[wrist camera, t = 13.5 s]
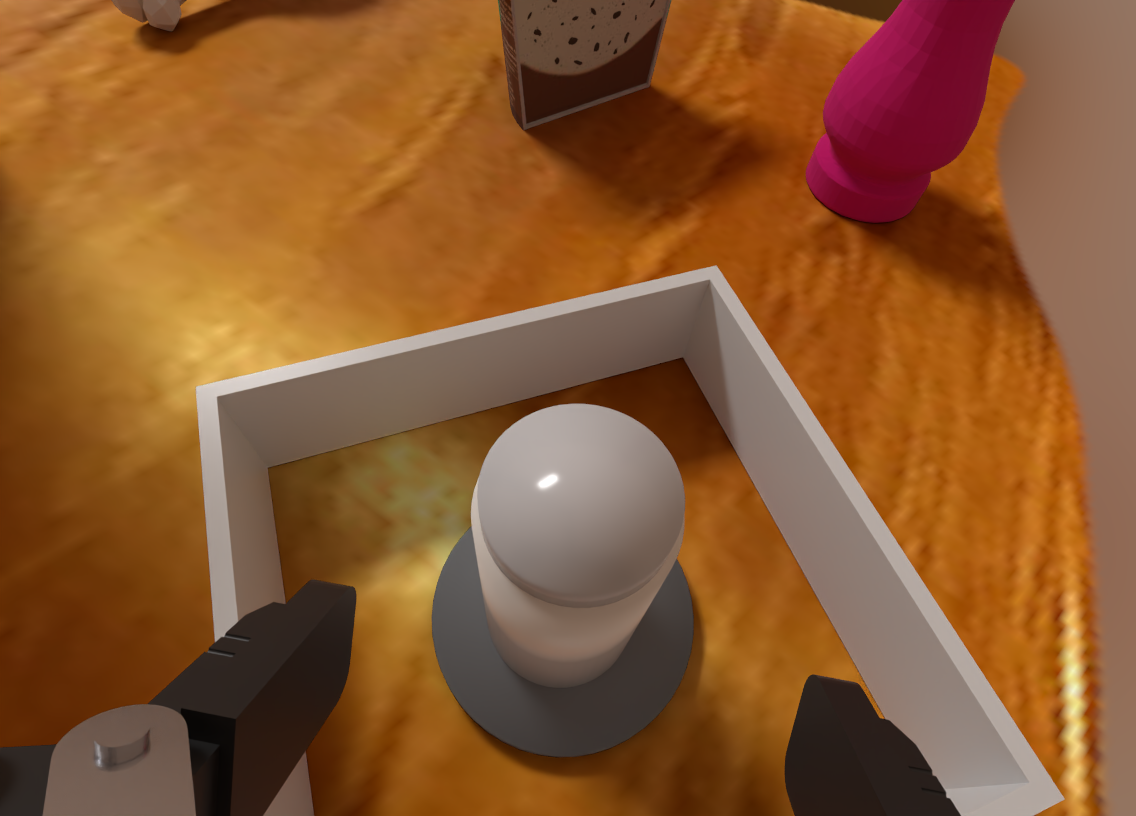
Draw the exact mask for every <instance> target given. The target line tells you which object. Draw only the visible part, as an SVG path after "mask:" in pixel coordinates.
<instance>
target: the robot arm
mask: <svg viewBox="0 0 1136 816" xmlns="http://www.w3.org/2000/svg"><path fill="white" fill-rule="evenodd" d="M355 607H356V591H355V588H354V587H351V586H346V585H340V584H335V583H330V582H324V581H319V580H310V581H309V582H308V583H306V584H305V585H304V586H303V587H302V588H301V589H300V590H299V591H298V592H297V593H296V594H295V595H294V596H293V597H292V598H291V599H290V600H289V601H288V602H287V603H286V604H282V603H277V602H272V603H270V604H268V605H266V606H264V607H261V608H259V609H257V610H255V611H253V612H251V613H248V614H246V615H245V616H244V617H242V618H241V619H240V620H239V621H238V622H237V623H236V624H235V625H234V626H233V627H231V628H230V629H229V630H228V631H227V632H226V633H225V636H224V637H221V638H219V639H218V640H217V641H216V642H215V643H214V644H213V645H212V646H211V647H210V648H209V650H208V652H204V653H203V654H202V655H201V656H200V657H199V658H197V659H196V660H195V661H194V662H193V663H192V664H191V665H190V666H189V667H188V668H187V669H185V670H184V671H183V672H182V673H181V674H180V675H179V676H178V677H177V678H176V679H174V680H173V681H172V682H171V683H170V684H169V685H168V686H167V687H166V688H165V689H163V690H162V691H161V692H160V693H159V694H158V695H157V696H156V697H155V698H154V699H153V700H151V701H150V702H149V703H148V704H141V705H131V706H124V707H120V708H116V709H112V710H109V711H106V712H103V713H100V714H98V715H96V716H93V717H91V718H89V719H87V720H85V721H84V722H82V723H80V724H79V725H77V726H76V727H74V728H73V729H71V730H70V731H69V732H68V733H67V734H66V735H65V736H64V737H63V738H62V739H61V740H60V741H59V742H58V744H55V745H41V746H22V747H2V748H0V816H263V815H264V814H265V812H266V811H267V809H268V808H269V806H270V804H271V803H272V801H273V800H274V798H275V797H276V795H277V794H278V792H279V791H280V789H281V788H282V786H283V785H284V783H285V782H286V780H287V779H288V777H289V776H290V774H291V772H292V771H293V769H294V768H295V766H296V765H297V763H298V762H299V760H300V759H301V757H302V756H303V754H304V753H305V751H306V750H307V748H308V747H309V745H310V744H311V742H312V740H313V739H314V737H315V736H316V734H317V733H318V731H319V730H320V728H321V727H322V725H323V724H324V722H325V721H326V719H327V718H328V716H329V715H330V713H331V712H332V710H333V708H334V707H335V705H336V704H337V702H338V700H339V698H340V696H341V694H342V691H343V689H344V686H345V683H346V680H347V676H348V672H349V666H350V657H351V647H352V637H353V627H354V617H355ZM785 783H786V789H787V793H788V796H789V800H790V803H791V806H792V809H793V812H794V815H795V816H961V815H960V813H959V812H958V810H957V808H956V807H955V805H954V804H953V802H952V801H951V799H950V798H947V797H946V791H945V789H944V788H943V786H942V785H941V783H940V782H939V780H938V778H937V777H936V776H934V775H933V774H932V769H931V767H930V766H929V764H928V763H927V761H926V760H925V758H924V756H923V755H922V753H921V752H920V750H919V749H918V747H917V745H916V744H915V743H914V742H913V741H912V740H910V739H909V738H908V737H907V736H906V735H905V734H904V733H903V732H902V731H901V730H900V729H899V728H897V727H896V726H895V725H894V724H893V723H892V722H891V721H890V720H887V719H881V718H879V716H878V715H877V713H876V711H875V710H874V708H873V706H872V704H871V703H870V701H869V699H868V698H867V696H866V694H865V693H864V691H863V689H862V688H861V686H860V685H859V684H858V683H856V682H850V681H845V680H840V679H834V678H829V677H824V676H818V675H810V676H809V677H808V679H807V680H806V683H805V685H804V688H803V692H802V696H801V700H800V703H799V707H798V711H797V714H796V718H795V722H794V726H793V729H792V733H791V737H790V740H789V744H788V748H787V752H786V758H785Z"/></svg>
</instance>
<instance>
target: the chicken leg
mask: <svg viewBox="0 0 1136 816" xmlns="http://www.w3.org/2000/svg"><path fill="white" fill-rule="evenodd" d="M185 1H186V0H112V2H113V3H114V5H115V6H116V7H117V8H118V9H119V10H120V11H121V12H122V13H124V14H126V15H128V16H130V17H132V18H134V19H136V20H138V21H140V22H146V21H148V22H149V24H150V25H152V26H154V27H156V28H160V29H163V30H166V31H173V30H174V28H175V27H176V25H177V23H178V22H179V19H180V17H181V9H180V6H181V5H182V4H183V3H184V2H185Z"/></svg>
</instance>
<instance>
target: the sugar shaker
mask: <svg viewBox="0 0 1136 816" xmlns="http://www.w3.org/2000/svg"><path fill="white" fill-rule="evenodd" d="M684 512H685V494H684V487H683V482H682V479H681V475H680V472H679V470H678V467H677V465H676V463H675V461H674V459H673V457H672V456H671V454H670V452H669V451H668V449H667V448H666V447H665V445H664V444H663V443H662V442H661V440H660V439H659V438H658V437H657V436H656V435H655V434H654V433H653V432H651V431H650V430H649V429H648V428H647V427H645V426H644V425H643V424H641V423H640V422H638V421H636V420H635V419H633V418H631V417H629V416H627V415H625V414H623V413H621V412H618V411H616V410H613V409H610V408H606V407H602V406H598V405H590V404H564V405H557V406H552V407H548V408H545V409H542V410H539V411H536V412H534V413H532V414H530V415H527V416H525V417H524V418H522V419H521V420H519V421H517V422H516V423H514V424H513V425H512V426H511V427H509V428H508V429H507V430H506V431H505V432H504V433H503V434H502V435H501V436H500V437H499V438H498V439H497V441H496V442H495V443H494V445H493V446H492V448H491V449H490V451H489V453H488V454H487V456H486V458H485V460H484V463H483V466H482V468H481V471H480V476H479V478H478V481H477V483H476V486H475V489H474V493H473V498H472V505H471V524H472V532H473V538H474V544H475V551H476V557H477V563H478V569H479V575H480V581H481V587H482V593H483V600H484V606H485V612H486V618H487V624H488V629H489V633H490V637H491V639H492V642H493V644H494V646H495V648H496V650H497V652H498V654H499V655H500V657H501V658H502V659H503V661H504V662H505V663H506V664H507V665H508V666H509V667H510V668H511V669H512V670H513V671H514V672H516V673H517V674H518V675H520V676H521V677H523V678H525V679H526V680H528V681H531V682H533V683H535V684H538V685H542V686H546V687H553V688H567V687H574V686H578V685H582V684H585V683H587V682H589V681H592V680H594V679H596V678H597V677H599V676H600V675H602V674H603V673H604V672H606V671H607V670H608V669H609V668H610V667H611V666H612V665H613V664H614V663H615V662H616V660H617V659H618V658H619V656H620V655H621V653H622V651H623V650H624V648H625V646H626V645H627V643H628V641H629V640H630V638H631V636H632V635H633V633H634V631H635V629H636V628H637V626H638V624H639V623H640V621H641V619H642V618H643V616H644V614H645V613H646V611H647V609H648V607H649V606H650V604H651V602H652V601H653V599H654V597H655V596H656V594H657V592H658V591H659V589H660V587H661V585H662V584H663V582H664V580H665V579H666V577H667V575H668V574H669V572H670V570H671V569H672V567H673V565H674V563H675V561H676V558H677V556H678V554H679V551H680V547H681V544H682V540H683V533H684Z"/></svg>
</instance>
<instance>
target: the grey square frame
mask: <svg viewBox="0 0 1136 816" xmlns="http://www.w3.org/2000/svg"><path fill="white" fill-rule="evenodd" d="M682 357H683V358H684V360H685V362H686V364H687V365H688V367H689V369H690V371H691V373H692V374H693V376H694V378H695V380H696V381H697V383H698V385H699V387H700V389H701V390H702V392H703V394H704V396H705V398H706V399H707V401H708V403H709V405H710V406H711V408H712V410H713V412H714V414H715V415H716V417H717V419H718V421H719V423H720V424H721V426H722V428H723V430H724V431H725V433H726V435H727V437H728V439H729V440H730V442H731V444H732V446H733V448H734V449H735V451H736V453H737V455H738V456H739V458H740V460H741V462H742V464H743V465H744V467H745V469H746V471H747V473H748V474H749V476H750V478H751V480H752V481H753V483H754V485H755V487H756V489H757V490H758V492H759V494H760V496H761V498H762V499H763V501H764V503H765V505H766V506H767V508H768V510H769V512H770V514H771V515H772V517H773V519H774V521H775V523H776V524H777V526H778V528H779V530H780V532H781V533H782V535H783V537H784V539H785V540H786V542H787V544H788V546H789V548H790V549H791V551H792V553H793V555H794V557H795V558H796V560H797V562H798V564H799V565H800V567H801V569H802V571H803V573H804V574H805V576H806V578H807V580H808V582H809V583H810V585H811V587H812V589H813V590H814V592H815V594H816V596H817V598H818V599H819V601H820V603H821V605H822V607H823V608H824V610H825V612H826V614H827V615H828V617H829V619H830V621H831V623H832V624H833V626H834V628H835V630H836V632H837V633H838V635H839V637H840V639H841V640H842V642H843V644H844V646H845V648H846V649H847V651H848V653H849V655H850V657H851V658H852V660H853V662H854V664H855V665H856V667H857V669H858V671H859V673H860V674H861V676H862V678H863V680H864V682H865V683H866V685H867V687H868V689H869V690H870V692H871V694H872V696H873V698H874V699H875V701H876V703H877V705H878V707H879V708H880V710H881V712H882V714H883V715H884V717H885V719H887V720H890V721H891V722H892V723H893V724H894V725H895V726H896V727H897V728H899V729H900V730H901V731H902V732H903V733H904V734H905V735H906V736H907V737H908V738H909V739H910V740H912V741H913V742H914V743H915V744H916V745H917V747H918V749H919V750H920V752H921V753H922V755H923V756H924V758H925V760H926V761H927V763H928V764H929V766H930V767H931V769H932V774H933V775H934V776H936V777H937V778H938V780H939V782H940V783H941V785H942V786H943V788H944V789H945V791H946V797H947V798H950V799H951V801H952V802H953V804H954V805H955V807H956V808H957V810H958V812H959V813H960V815H961V816H1034V815H1035V814H1037V813H1039V812H1041V811H1043V810H1045V809H1047V808H1049V807H1051V806H1053V805H1055V804H1057V803H1058V802H1060V801H1062V800H1064V797H1063V796H1062V794H1061V793H1060V791H1059V790H1058V788H1057V787H1056V785H1055V784H1054V782H1053V781H1052V779H1051V777H1050V776H1049V774H1048V773H1047V771H1046V770H1045V768H1044V767H1043V765H1042V764H1041V762H1040V761H1039V759H1038V758H1037V756H1036V754H1035V753H1034V751H1033V750H1032V748H1031V747H1030V745H1029V744H1028V742H1027V741H1026V739H1025V738H1024V736H1023V735H1022V733H1021V731H1020V730H1019V728H1018V727H1017V725H1016V724H1015V722H1014V721H1013V719H1012V718H1011V716H1010V715H1009V713H1008V712H1007V710H1006V708H1005V707H1004V705H1003V704H1002V702H1001V701H1000V699H999V698H998V696H997V695H996V693H995V692H994V690H993V689H992V687H991V685H990V684H989V682H988V681H987V679H986V678H985V676H984V675H983V673H982V672H981V670H980V669H979V667H978V666H977V664H976V662H975V661H974V659H973V658H972V656H971V655H970V653H969V652H968V650H967V649H966V647H965V646H964V644H963V643H962V641H961V639H960V638H959V636H958V635H957V633H956V632H955V630H954V629H953V627H952V626H951V624H950V623H949V621H948V620H947V618H946V617H945V615H944V613H943V612H942V610H941V609H940V607H939V606H938V604H937V603H936V601H935V600H934V598H933V597H932V595H931V594H930V592H929V590H928V589H927V587H926V586H925V584H924V583H923V581H922V580H921V578H920V577H919V575H918V574H917V572H916V571H915V569H914V567H913V566H912V564H911V563H910V561H909V560H908V558H907V557H906V555H905V554H904V552H903V551H902V549H901V548H900V546H899V544H898V543H897V541H896V540H895V538H894V537H893V535H892V534H891V532H890V531H889V529H888V528H887V526H886V525H885V523H884V521H883V520H882V518H881V517H880V515H879V514H878V512H877V511H876V509H875V508H874V506H873V505H872V503H871V502H870V500H869V498H868V497H867V495H866V494H865V492H864V491H863V489H862V488H861V486H860V485H859V483H858V482H857V480H856V479H855V477H854V475H853V474H852V472H851V471H850V469H849V468H848V466H847V465H846V463H845V462H844V460H843V459H842V457H841V456H840V454H839V452H838V451H837V449H836V448H835V446H834V445H833V443H832V442H831V440H830V439H829V437H828V436H827V434H826V433H825V431H824V429H823V428H822V426H821V425H820V423H819V422H818V420H817V419H816V417H815V416H814V414H813V413H812V411H811V410H810V408H809V406H808V405H807V403H806V402H805V400H804V399H803V397H802V396H801V394H800V393H799V391H798V390H797V388H796V387H795V385H794V383H793V382H792V380H791V379H790V377H789V376H788V374H787V373H786V371H785V370H784V368H783V367H782V365H781V364H780V362H779V360H778V359H777V357H776V356H775V354H774V353H773V351H772V350H771V348H770V347H769V345H768V344H767V342H766V341H765V339H764V337H763V336H762V334H761V333H760V331H759V330H758V328H757V327H756V325H755V324H754V322H753V321H752V319H751V318H750V316H749V314H748V313H747V311H746V310H745V308H744V307H743V305H742V304H741V302H740V301H739V299H738V298H737V296H736V295H735V293H734V291H733V290H732V288H731V287H730V285H729V284H728V282H727V281H726V279H725V278H724V276H723V275H722V273H721V272H720V270H719V268H718V267H717V265H716V266H712V267H708V268H703V269H699V270H695V271H691V272H686V273H682V274H678V275H673V276H669V277H665V278H660V279H656V280H652V281H648V282H643V283H639V284H635V285H630V286H626V287H622V288H618V289H613V290H609V291H605V292H600V293H596V294H592V295H587V296H583V297H579V298H575V299H570V300H566V301H562V302H557V303H553V304H549V305H545V306H540V307H536V308H532V309H527V310H523V311H519V312H514V313H510V314H506V315H502V316H497V317H493V318H489V319H484V320H480V321H476V322H472V323H467V324H463V325H459V326H454V327H450V328H446V329H441V330H437V331H433V332H429V333H424V334H420V335H416V336H411V337H407V338H403V339H398V340H394V341H390V342H386V343H381V344H377V345H373V346H368V347H364V348H360V349H356V350H351V351H347V352H343V353H338V354H334V355H330V356H325V357H321V358H317V359H313V360H308V361H304V362H300V363H295V364H291V365H287V366H283V367H278V368H274V369H270V370H265V371H261V372H257V373H252V374H248V375H244V376H240V377H235V378H231V379H227V380H222V381H218V382H214V383H210V384H205V385H201V386H197V387H196V397H197V410H198V423H199V437H200V450H201V463H202V476H203V489H204V503H205V516H206V529H207V542H208V555H209V568H210V582H211V595H212V608H213V621H214V634H215V642H216V641H217V640H218V639H219V638H221V637H224V636H225V633H226V632H227V631H228V630H229V629H230V628H231V627H233V626H234V625H235V624H236V623H237V622H238V621H239V620H240V619H241V618H242V617H244V616H245V615H246V614H248V613H251V612H253V611H255V610H257V609H259V608H261V607H264V606H266V605H268V604H270V603H272V602H277V603H282V604H286V602H285V594H284V587H283V579H282V572H281V564H280V557H279V550H278V542H277V535H276V527H275V520H274V512H273V505H272V497H271V490H270V483H269V475H268V468H269V467H272V466H276V465H280V464H284V463H288V462H291V461H295V460H299V459H303V458H306V457H310V456H314V455H318V454H321V453H325V452H329V451H333V450H336V449H340V448H344V447H348V446H351V445H355V444H359V443H363V442H366V441H370V440H374V439H378V438H381V437H385V436H389V435H393V434H396V433H400V432H404V431H408V430H411V429H415V428H419V427H423V426H426V425H430V424H434V423H438V422H441V421H445V420H449V419H453V418H457V417H460V416H464V415H468V414H472V413H475V412H479V411H483V410H487V409H490V408H494V407H498V406H502V405H505V404H509V403H513V402H517V401H520V400H524V399H528V398H532V397H535V396H539V395H543V394H547V393H550V392H554V391H558V390H562V389H565V388H569V387H573V386H577V385H580V384H584V383H588V382H592V381H595V380H599V379H603V378H607V377H610V376H614V375H618V374H622V373H625V372H629V371H633V370H637V369H641V368H644V367H648V366H652V365H656V364H659V363H663V362H667V361H671V360H674V359H678V358H682ZM263 816H314V810H313V803H312V795H311V788H310V780H309V773H308V765H307V758H306V751H305V753H304V754H303V756H302V757H301V759H300V760H299V762H298V763H297V765H296V766H295V768H294V769H293V771H292V772H291V774H290V776H289V777H288V779H287V780H286V782H285V783H284V785H283V786H282V788H281V789H280V791H279V792H278V794H277V795H276V797H275V798H274V800H273V801H272V803H271V804H270V806H269V808H268V809H267V811H266V812H265V814H264V815H263Z"/></svg>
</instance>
